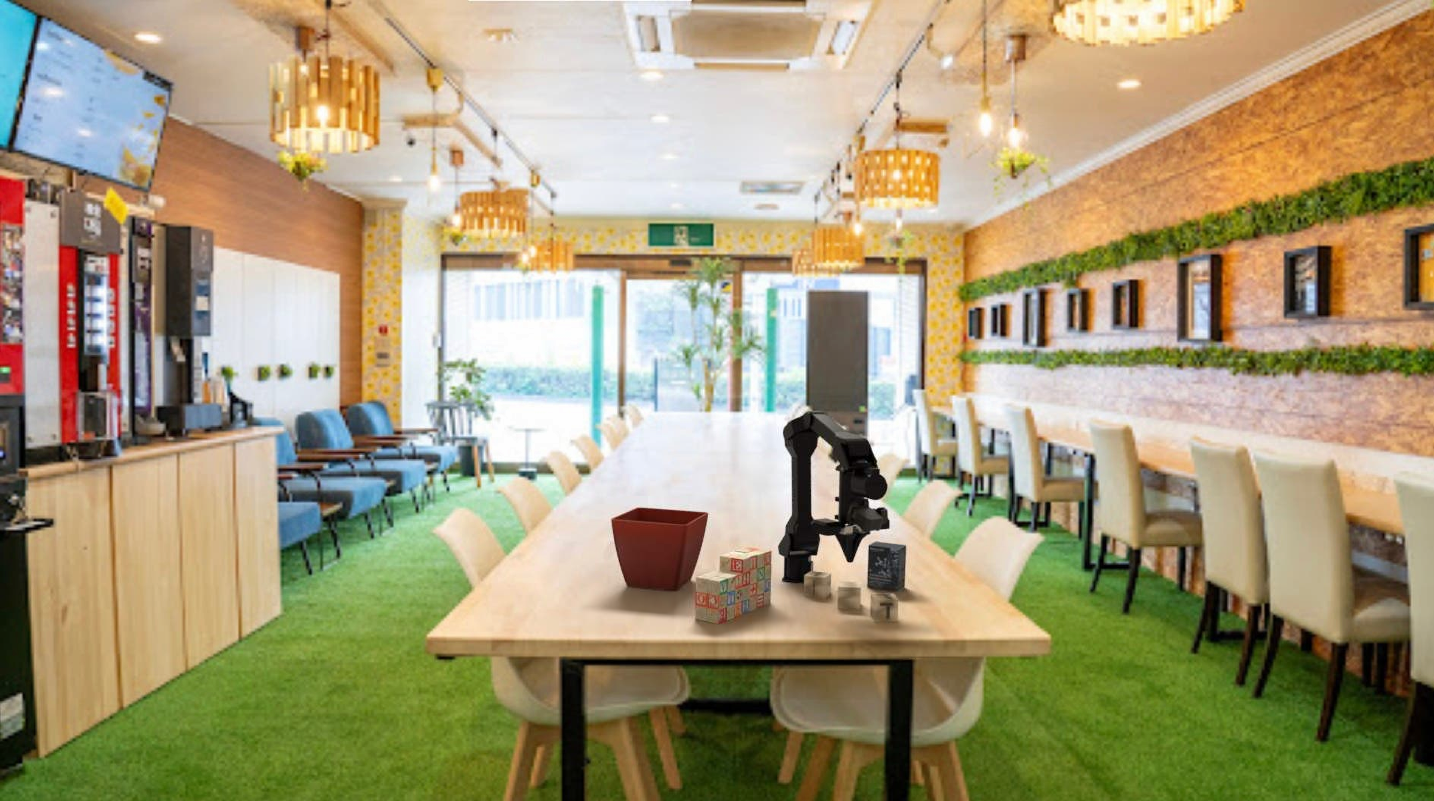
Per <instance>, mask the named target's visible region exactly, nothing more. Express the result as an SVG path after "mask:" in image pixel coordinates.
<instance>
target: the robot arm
mask: <svg viewBox="0 0 1434 801" xmlns="http://www.w3.org/2000/svg"><path fill="white" fill-rule="evenodd" d="M782 436H783V439H784V447H785V449H786V450H787V452H788V453H789V455H790V458H791V459H790V460H791V462H790V464H791V468H790V469H791V516H790V517H789V519H788V521H787V522H786V524H785V529H784V530H785V531H784V535H783V537H782V539H781V540H780V542H779V544H778V545H777V550H778V555H779V556H782V557H783V577H781V581H782V582H793V583H803V584H804V575H806V574H807V573H809V572H810V571H814V560H812V556H813V557H814V556H815V557H816V556H818V552H819V549H820V548H819V547H820V543H821V536H824V537H832V536H833V537H834V536H835V539H836V540H837V542H838V545H839V546H840V548H841V550H842V553H843V556H844V557H845V560H846V562H847V563H853V562H854V560H855V557H856V555H857V552H858V550H859V547H860V545H861V542H862V541H863V539H864V538H866V537H867V536H868V535H870V534H871V532H872V531H873V532H875V531H876V532H879V531H881V530H890V528H891V527H890V526H891V523H890V522H891V521H890V519H889V514H888V509H887V508H886V507H885V506H880V507H876V508H875V507H873V508H871V507H870V500H872V501H879V500H882V498H884V497H885V495H886V494H887V492H888V482H887V479H886V478H885V477H884V475H882V474H881V469H880V468H879V466H878V460H877V458H876V455H875V454H874V451H873V448H872V446H871V443H870V442H869V440H868V438H866V437H864V436H862V435H859V434H857V433H851V432H849V431H847V430H846V429H844V428H843V427H842V426H841V425H840V424H838V423H837V422H836V421H834V419H832V418H831V416H830V417H829V415H828V413H827V412H826V411H823V410H809V411H806V412H805V413H803V414H802V415H800V416H798V417H795V418H794V419H791V420H790V421H787V424H786V425H785V426H784V427H783V429H782ZM819 438H821V439H822V440H824V442H826V443H827V444H828V445H829V446H831V448H832V455H833V456H834V458H835V459H836V460H837V462H838V463H839V464H838V465H837V466H835V468H834V469H835V471H836V472H839V473H838V474H839V478H838V482H839V483H838V496H835V497H834V502H837V503H838V508H837V509H838V513H837V514H834V519H830V518H825V517H824V518H814V517H813V515H812V508H813V507H812V456H813V454H814V453H815V451H816V450H817V448H818V441H819ZM820 535H821V536H820Z"/></svg>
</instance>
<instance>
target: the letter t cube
mask: <svg viewBox="0 0 1434 801" xmlns="http://www.w3.org/2000/svg"><path fill="white" fill-rule="evenodd" d="M869 609H870V611H869V615H870V618H871V619H872V620H873V622H874V623H898V622H899V619H898V618H899V599H898V597H897V596H896V594H895V593H880V592H879V593H878V592H877V593H876V592H875V593H873V592H872V593H870V608H869Z"/></svg>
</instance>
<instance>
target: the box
mask: <svg viewBox="0 0 1434 801" xmlns="http://www.w3.org/2000/svg"><path fill="white" fill-rule="evenodd" d="M867 547H868V550H867V551H868V552H867V556H868V557H867V583H866V586H867V588H871V589H872V588H873V589H879V590H883V591H884V590H886V591H891V592H896V593H899V591H901V590H903V589H904V588H905V586H906V562H907V545H906V544H900V543H889V542H882V541H878V540H877V541H874V542H872V543H870V544H868V546H867Z"/></svg>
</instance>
